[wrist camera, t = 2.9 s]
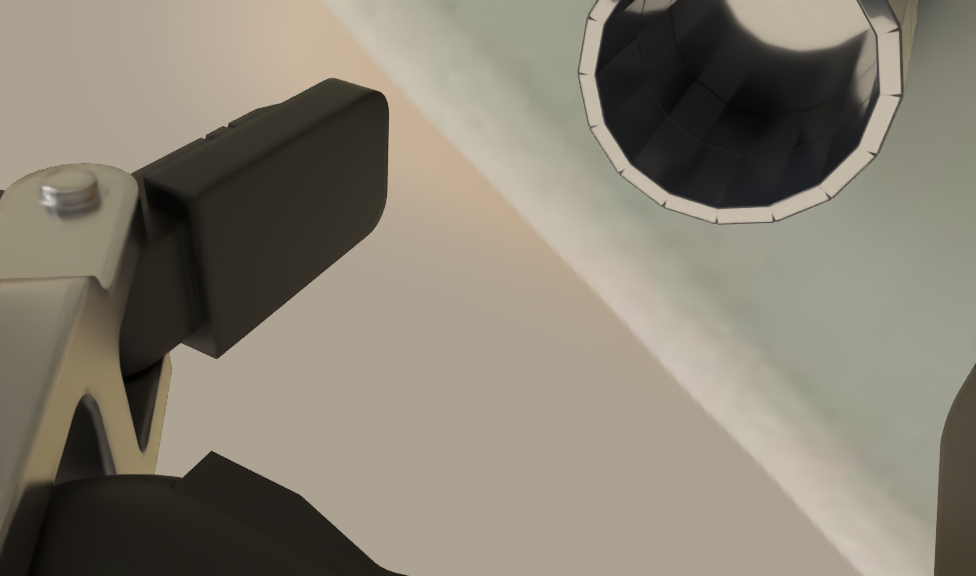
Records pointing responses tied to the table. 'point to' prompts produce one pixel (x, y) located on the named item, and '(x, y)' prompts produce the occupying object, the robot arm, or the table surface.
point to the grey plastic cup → (744, 98)
